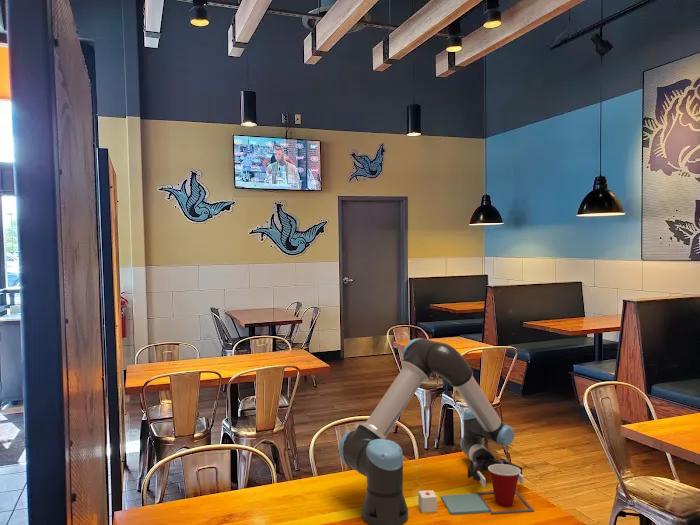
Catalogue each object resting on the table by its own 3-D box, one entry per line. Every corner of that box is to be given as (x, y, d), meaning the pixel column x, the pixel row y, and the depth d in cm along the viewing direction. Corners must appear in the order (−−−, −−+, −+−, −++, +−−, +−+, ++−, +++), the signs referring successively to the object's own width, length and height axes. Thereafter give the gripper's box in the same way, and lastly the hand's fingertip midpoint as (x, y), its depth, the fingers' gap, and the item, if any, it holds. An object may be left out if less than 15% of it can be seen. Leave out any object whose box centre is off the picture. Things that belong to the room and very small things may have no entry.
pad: (450, 514, 178) (450, 512, 178) (440, 497, 190) (440, 495, 190) (489, 512, 179) (489, 510, 179) (476, 495, 191) (476, 493, 191)
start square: (491, 514, 178) (491, 512, 178) (476, 493, 193) (476, 492, 192) (534, 511, 180) (534, 510, 180) (515, 491, 194) (515, 490, 194)
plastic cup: (517, 495, 191) (517, 462, 190) (523, 511, 180) (524, 475, 180) (485, 494, 192) (485, 461, 192) (490, 509, 181) (490, 474, 181)
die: (422, 512, 179) (422, 497, 179) (418, 505, 184) (418, 490, 184) (436, 511, 180) (436, 496, 180) (432, 504, 185) (432, 489, 185)
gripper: (512, 465, 210) (538, 490, 189) (449, 469, 207) (468, 494, 186) (512, 446, 210) (538, 469, 189) (450, 449, 207) (468, 473, 186)
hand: (503, 481), depth 188 cm, fingers open, 13 cm apart
